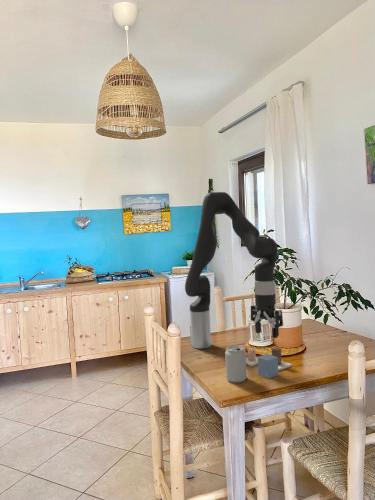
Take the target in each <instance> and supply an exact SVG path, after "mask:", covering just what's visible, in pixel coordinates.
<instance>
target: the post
mask: <svg viewBox="0 0 375 500" xmlns="http://www.w3.org/2000/svg"><path fill="white" fill-rule="evenodd" d="M271 355H273V356H276V357H278V372H279V371H282V370H284V369H288V368H290V367H293V366H292V363H289V362H286V361H283V360H282V348H280V347H276V346H275V347H273V348H271Z"/></svg>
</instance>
